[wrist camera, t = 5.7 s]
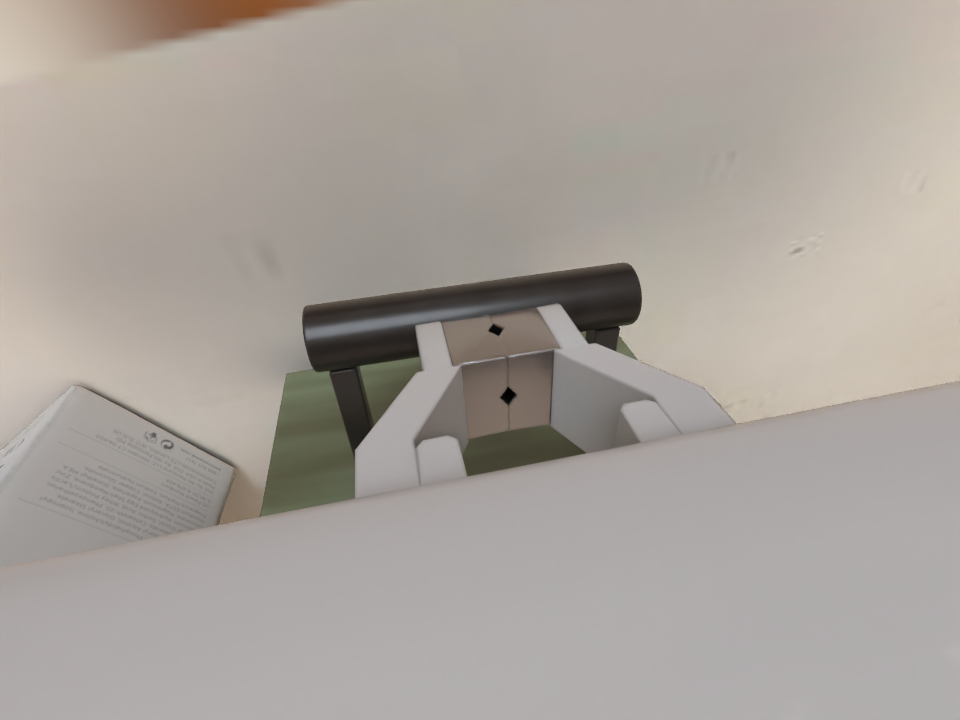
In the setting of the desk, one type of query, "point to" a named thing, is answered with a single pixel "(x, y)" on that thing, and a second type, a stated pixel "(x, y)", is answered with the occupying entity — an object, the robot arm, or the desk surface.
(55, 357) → the desk surface
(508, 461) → the drawer
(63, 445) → the cosmetics box
